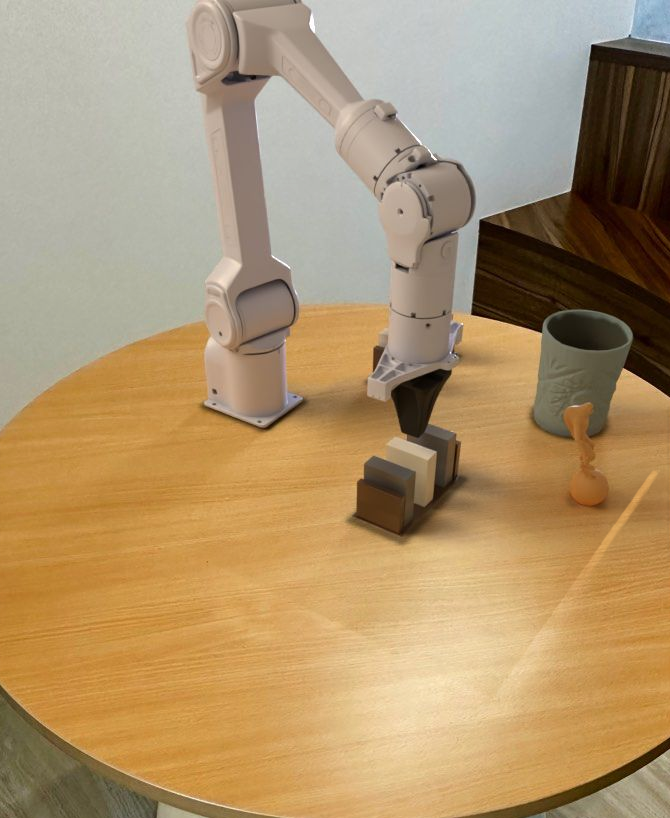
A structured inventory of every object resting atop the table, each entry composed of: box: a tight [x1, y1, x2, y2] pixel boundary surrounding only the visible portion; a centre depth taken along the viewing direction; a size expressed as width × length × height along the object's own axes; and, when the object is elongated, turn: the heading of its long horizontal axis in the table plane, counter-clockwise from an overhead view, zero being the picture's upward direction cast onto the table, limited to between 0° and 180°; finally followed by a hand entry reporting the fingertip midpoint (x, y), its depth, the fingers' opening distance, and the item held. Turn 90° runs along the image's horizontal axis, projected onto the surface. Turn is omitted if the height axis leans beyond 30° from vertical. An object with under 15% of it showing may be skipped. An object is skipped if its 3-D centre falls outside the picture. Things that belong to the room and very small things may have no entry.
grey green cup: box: [533, 309, 634, 439], centre depth 103 cm, size 10×10×12 cm
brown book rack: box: [351, 422, 462, 538], centre depth 92 cm, size 6×13×7 cm, turn 147°
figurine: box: [564, 403, 610, 507], centre depth 91 cm, size 8×6×12 cm
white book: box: [385, 436, 437, 507], centre depth 92 cm, size 5×2×6 cm, turn 57°
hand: (412, 432), depth 89 cm, fingers closed
